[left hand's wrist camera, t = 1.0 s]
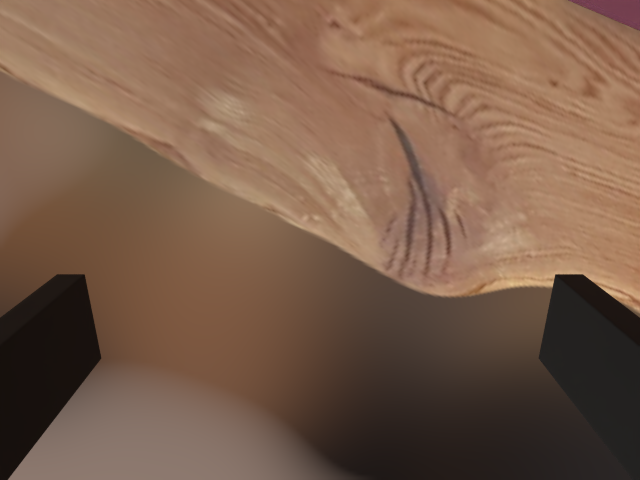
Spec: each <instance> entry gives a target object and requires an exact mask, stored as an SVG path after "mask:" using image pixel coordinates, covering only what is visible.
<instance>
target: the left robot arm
mask: <svg viewBox="0 0 640 480" xmlns="http://www.w3.org/2000/svg"><path fill="white" fill-rule="evenodd" d="M100 359H101V354H100V349H99V345H98V339H97V334H96V329H95V324H94V319H93V314H92V309H91V304H90V299H89V294H88V289H87V284H86V279H85V275H83V274H82V275H81V274H78V275H77V274H69V275H68V274H60V275H59V274H58V275H56V276H54V277H53V278H52V279H51V280H49V281H48V282H47V283H45V284H44V285H43V286H41V287H40V288H39V289H37V290H36V291H35V292H33V293H32V294H31V295H29V296H28V297H27V298H26V299H24V300H23V301H22V302H20V303H19V304H18V305H16V306H15V307H14V308H12V309H11V310H10V311H8V312H7V313H6V314H5V315H3V316H2V317H1V318H0V480H8V479H9V477H10V476H11V475H12V473H13V472H14V471H15V469H16V468H17V467H18V466H19V464H20V463H21V462H22V460H23V459H24V458H25V456H26V455H27V454H28V453H29V451H30V450H31V449H32V447H33V446H34V445H35V443H36V442H37V441H38V440H39V438H40V437H41V436H42V434H43V433H44V432H45V431H46V429H47V428H48V427H49V425H50V424H51V423H52V422H53V420H54V419H55V418H56V416H57V415H58V414H59V412H60V411H61V410H62V409H63V407H64V406H65V405H66V403H67V402H68V401H69V399H70V398H71V397H72V396H73V394H74V393H75V392H76V390H77V389H78V388H79V386H80V385H81V384H82V383H83V381H84V380H85V379H86V377H87V376H88V375H89V374H90V372H91V371H92V370H93V368H94V367H95V366H96V364H97V363H98V362H99V361H100ZM539 359H540V361H541V362H542V363H543V364H544V366H545V367H546V368H547V370H548V371H549V372H550V373H551V375H552V376H553V377H554V379H555V380H556V381H557V383H558V384H559V385H560V386H561V388H562V389H563V390H564V392H565V393H566V394H567V396H568V397H569V398H570V399H571V401H572V402H573V403H574V405H575V406H576V407H577V409H578V410H579V411H580V412H581V414H582V415H583V416H584V418H585V419H586V420H587V422H588V423H589V424H590V425H591V427H592V428H593V429H594V431H595V432H596V433H597V434H598V436H599V437H600V438H601V440H602V441H603V442H604V444H605V445H606V446H607V447H608V449H609V450H610V451H611V453H612V454H613V455H614V457H615V458H616V459H617V460H618V462H619V463H620V464H621V466H622V467H623V468H624V469H625V471H626V472H627V473H628V475H629V476H630V477H631V479H632V480H640V318H639V317H638V316H637V315H635V314H634V313H633V312H632V311H630V310H629V309H628V308H626V307H625V306H624V305H622V304H621V303H620V302H618V301H617V300H616V299H614V298H613V297H612V296H611V295H609V294H608V293H607V292H605V291H604V290H603V289H601V288H600V287H599V286H597V285H596V284H595V283H593V282H592V281H591V280H589V279H588V278H587V277H586V276H584V275H583V274H555V279H554V284H553V289H552V294H551V299H550V304H549V309H548V314H547V319H546V324H545V329H544V334H543V339H542V344H541V349H540V354H539Z"/></svg>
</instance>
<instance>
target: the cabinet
mask: <svg viewBox="0 0 640 480" xmlns="http://www.w3.org/2000/svg"><path fill="white" fill-rule="evenodd" d="M569 1H572V2H574V3H576V4H579V5H581V6H583V7H586V8H588V9H590V10H593V11H595V12H597V13H600V14H602V15H604V16H607V17H609V18H612V19H614V20H616V21H619V22H621V23H623V24H626V25H628V26H630V27H633V28H635V29H637V30H640V0H569Z"/></svg>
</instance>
